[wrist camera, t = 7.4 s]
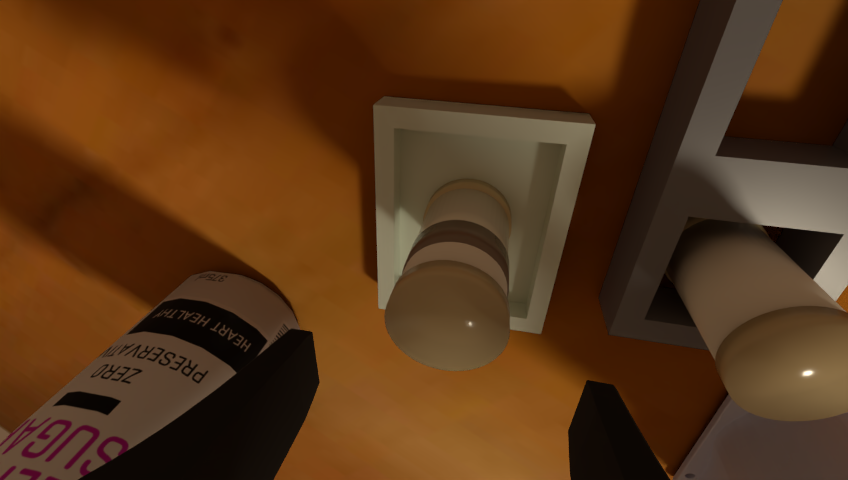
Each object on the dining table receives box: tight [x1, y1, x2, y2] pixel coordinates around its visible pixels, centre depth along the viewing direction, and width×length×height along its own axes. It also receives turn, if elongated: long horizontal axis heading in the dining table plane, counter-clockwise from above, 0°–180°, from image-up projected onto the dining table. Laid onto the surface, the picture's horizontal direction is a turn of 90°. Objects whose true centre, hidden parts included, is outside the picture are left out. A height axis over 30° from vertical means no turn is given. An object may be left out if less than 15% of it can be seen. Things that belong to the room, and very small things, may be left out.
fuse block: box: [599, 0, 848, 350], centre depth 14 cm, size 14×7×2 cm, turn 178°
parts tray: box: [373, 96, 596, 334], centre depth 18 cm, size 10×8×2 cm
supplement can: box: [0, 271, 300, 480], centre depth 19 cm, size 8×8×15 cm
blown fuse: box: [385, 179, 512, 371], centre depth 15 cm, size 4×4×7 cm
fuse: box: [665, 217, 848, 421], centre depth 14 cm, size 4×4×7 cm
